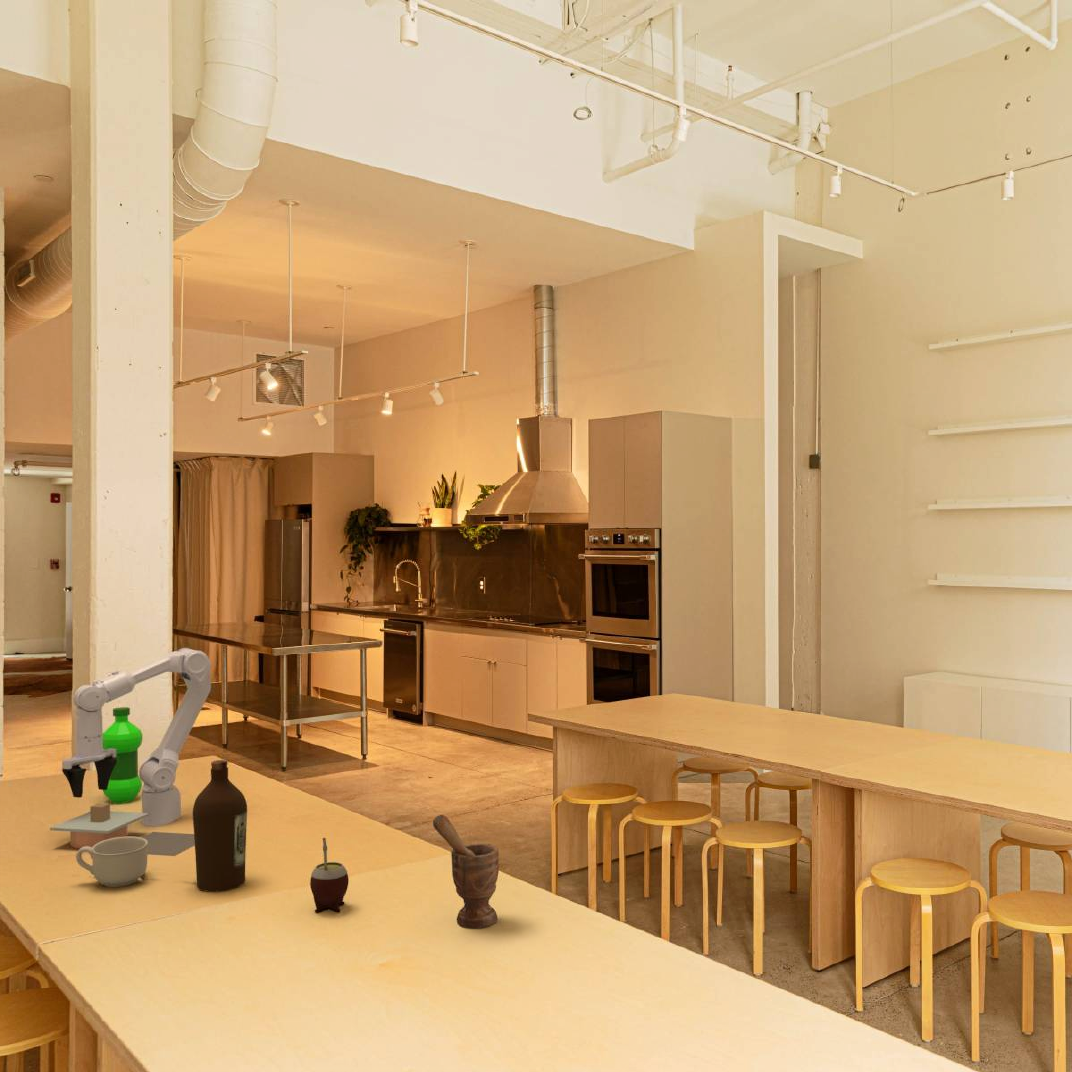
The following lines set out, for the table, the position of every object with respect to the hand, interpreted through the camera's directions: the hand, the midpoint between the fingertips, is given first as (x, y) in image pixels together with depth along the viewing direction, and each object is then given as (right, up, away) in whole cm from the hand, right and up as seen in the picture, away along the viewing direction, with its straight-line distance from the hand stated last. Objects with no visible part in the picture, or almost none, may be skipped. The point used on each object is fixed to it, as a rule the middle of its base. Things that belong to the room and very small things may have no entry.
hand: (90, 793), depth 246 cm
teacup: (+19, -10, -33) cm, 40 cm away
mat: (+21, -10, -9) cm, 25 cm away
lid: (+5, -5, -6) cm, 10 cm away
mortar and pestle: (+94, -9, -59) cm, 112 cm away
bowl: (+5, -10, -6) cm, 13 cm away
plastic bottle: (-6, -11, +34) cm, 36 cm away
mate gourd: (+67, -10, -51) cm, 85 cm away
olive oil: (+42, -10, -36) cm, 56 cm away
